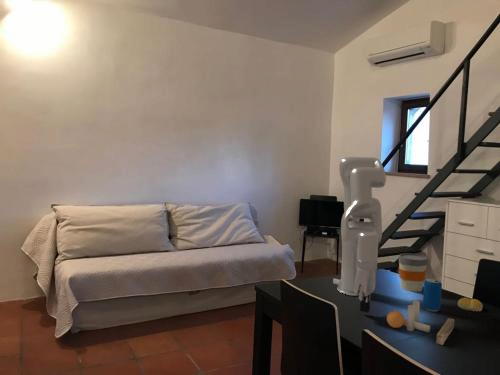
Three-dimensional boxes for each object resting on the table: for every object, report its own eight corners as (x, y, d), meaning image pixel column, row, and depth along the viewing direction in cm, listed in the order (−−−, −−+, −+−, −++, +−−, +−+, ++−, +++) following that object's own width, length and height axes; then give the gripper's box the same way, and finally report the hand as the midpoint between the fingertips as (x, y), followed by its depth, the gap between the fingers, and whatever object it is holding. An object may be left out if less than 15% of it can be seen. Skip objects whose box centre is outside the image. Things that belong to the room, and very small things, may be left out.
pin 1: (405, 329, 153) (407, 306, 152) (407, 327, 155) (409, 304, 154) (412, 331, 152) (414, 308, 151) (414, 329, 154) (416, 306, 153)
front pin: (403, 321, 156) (427, 328, 150) (406, 317, 158) (430, 324, 152) (404, 327, 157) (428, 333, 151) (406, 323, 158) (430, 329, 153)
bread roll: (458, 303, 182) (459, 294, 182) (482, 307, 178) (483, 298, 177) (456, 309, 175) (456, 299, 175) (481, 314, 171) (481, 304, 170)
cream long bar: (436, 343, 143) (436, 334, 142) (447, 326, 157) (448, 318, 157) (442, 345, 142) (443, 336, 141) (453, 327, 156) (454, 319, 156)
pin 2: (410, 324, 158) (411, 301, 157) (412, 322, 160) (413, 300, 159) (417, 326, 157) (418, 303, 156) (419, 324, 159) (420, 301, 158)
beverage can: (441, 313, 170) (443, 283, 169) (424, 311, 171) (426, 281, 170) (438, 307, 176) (440, 278, 175) (421, 305, 178) (423, 277, 177)
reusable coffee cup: (425, 286, 204) (427, 254, 202) (426, 294, 192) (428, 261, 190) (397, 282, 208) (398, 252, 206) (396, 290, 196) (398, 258, 195)
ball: (396, 333, 155) (382, 321, 158) (406, 321, 157) (392, 309, 160) (398, 329, 150) (383, 317, 153) (408, 316, 152) (394, 305, 155)
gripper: (364, 259, 173) (362, 303, 174) (349, 266, 161) (347, 314, 162) (383, 262, 168) (381, 307, 170) (369, 270, 156) (367, 319, 158)
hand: (364, 311), depth 166 cm, fingers closed
